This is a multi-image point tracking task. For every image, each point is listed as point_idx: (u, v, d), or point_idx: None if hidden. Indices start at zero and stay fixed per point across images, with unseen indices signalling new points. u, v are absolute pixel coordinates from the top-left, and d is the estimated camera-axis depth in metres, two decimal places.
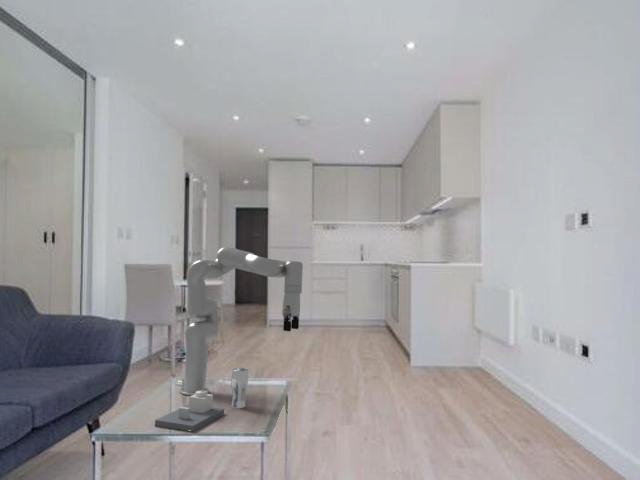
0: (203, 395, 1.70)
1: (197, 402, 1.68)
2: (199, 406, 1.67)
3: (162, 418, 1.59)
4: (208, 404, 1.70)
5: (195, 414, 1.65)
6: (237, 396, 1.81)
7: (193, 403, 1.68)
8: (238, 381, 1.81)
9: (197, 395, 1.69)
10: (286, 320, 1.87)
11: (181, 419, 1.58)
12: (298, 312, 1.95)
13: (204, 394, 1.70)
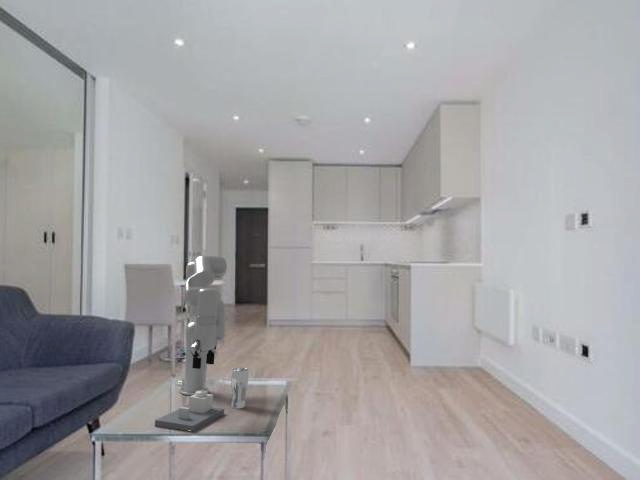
0: (203, 395, 1.70)
1: (197, 402, 1.68)
2: (199, 406, 1.67)
3: (162, 418, 1.59)
4: (208, 404, 1.70)
5: (195, 414, 1.65)
6: (237, 396, 1.81)
7: (193, 403, 1.68)
8: (238, 381, 1.81)
9: (197, 395, 1.69)
10: (195, 356, 1.67)
11: (181, 419, 1.58)
12: (212, 346, 1.75)
13: (204, 394, 1.70)
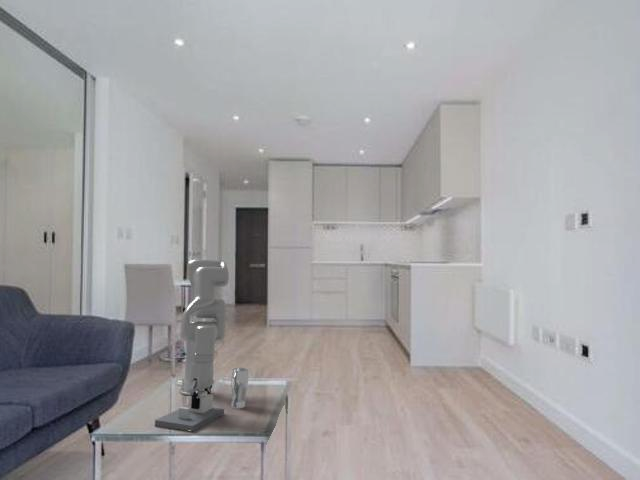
0: (203, 395, 1.70)
1: None
2: None
3: (162, 418, 1.59)
4: (208, 404, 1.70)
5: (195, 414, 1.65)
6: (237, 396, 1.81)
7: None
8: (238, 381, 1.81)
9: None
10: (194, 397, 1.66)
11: (181, 419, 1.58)
12: (210, 383, 1.73)
13: (204, 394, 1.70)
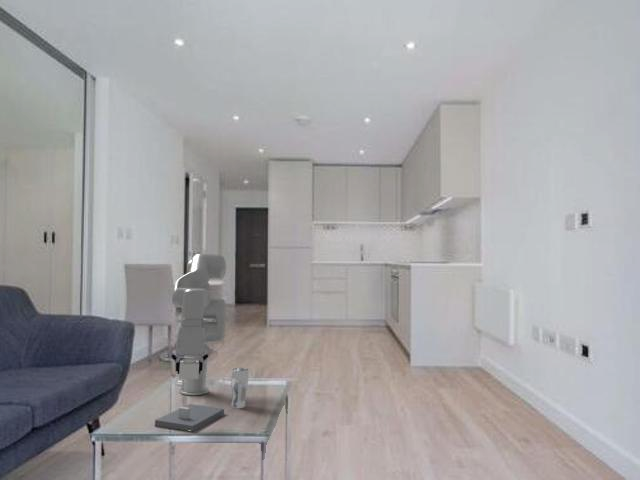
0: (185, 361, 1.61)
1: None
2: None
3: (162, 418, 1.59)
4: (189, 372, 1.60)
5: (195, 414, 1.65)
6: (237, 396, 1.81)
7: None
8: (238, 381, 1.81)
9: None
10: (175, 361, 1.62)
11: (181, 419, 1.58)
12: (197, 351, 1.62)
13: (186, 360, 1.61)
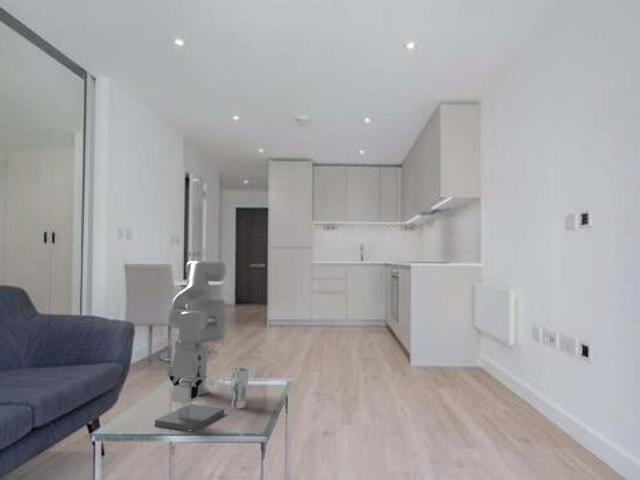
0: (180, 384, 1.60)
1: None
2: None
3: (162, 418, 1.59)
4: (180, 395, 1.58)
5: (195, 414, 1.65)
6: (237, 396, 1.81)
7: None
8: (238, 381, 1.81)
9: None
10: None
11: (181, 419, 1.58)
12: (189, 375, 1.59)
13: (180, 383, 1.60)
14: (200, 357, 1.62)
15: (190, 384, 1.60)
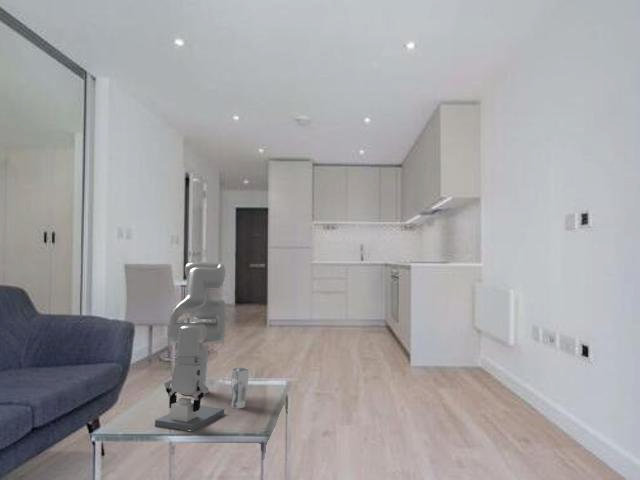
0: (178, 402, 1.60)
1: None
2: None
3: (162, 418, 1.59)
4: (178, 413, 1.57)
5: None
6: (237, 396, 1.81)
7: None
8: (238, 381, 1.81)
9: None
10: None
11: None
12: (188, 390, 1.58)
13: (179, 401, 1.59)
14: (199, 371, 1.61)
15: (189, 402, 1.60)
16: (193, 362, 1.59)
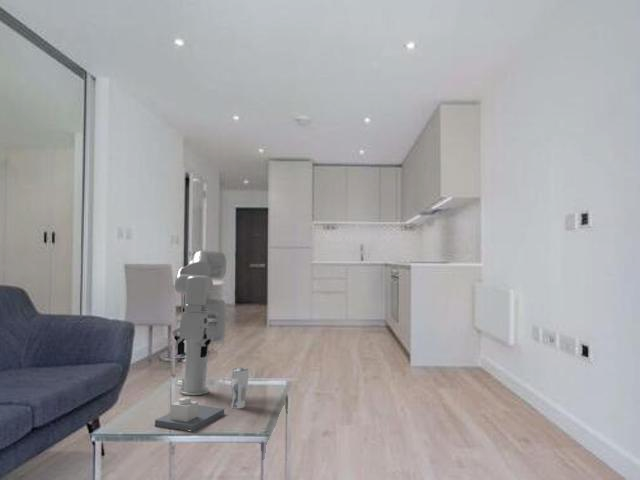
0: (178, 402, 1.60)
1: None
2: None
3: (162, 418, 1.59)
4: (178, 413, 1.57)
5: None
6: (237, 396, 1.81)
7: None
8: (238, 381, 1.81)
9: None
10: None
11: None
12: (196, 336, 1.65)
13: (179, 401, 1.59)
14: (206, 320, 1.68)
15: (189, 402, 1.60)
16: (200, 310, 1.66)
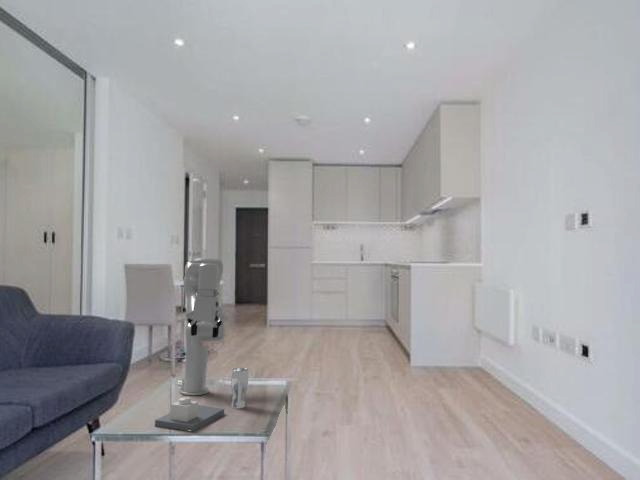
0: (178, 402, 1.60)
1: None
2: None
3: (162, 418, 1.59)
4: (178, 413, 1.57)
5: None
6: (237, 396, 1.81)
7: None
8: (238, 381, 1.81)
9: None
10: None
11: None
12: (208, 318, 1.80)
13: (179, 401, 1.59)
14: (217, 303, 1.83)
15: (189, 402, 1.60)
16: (212, 294, 1.81)
